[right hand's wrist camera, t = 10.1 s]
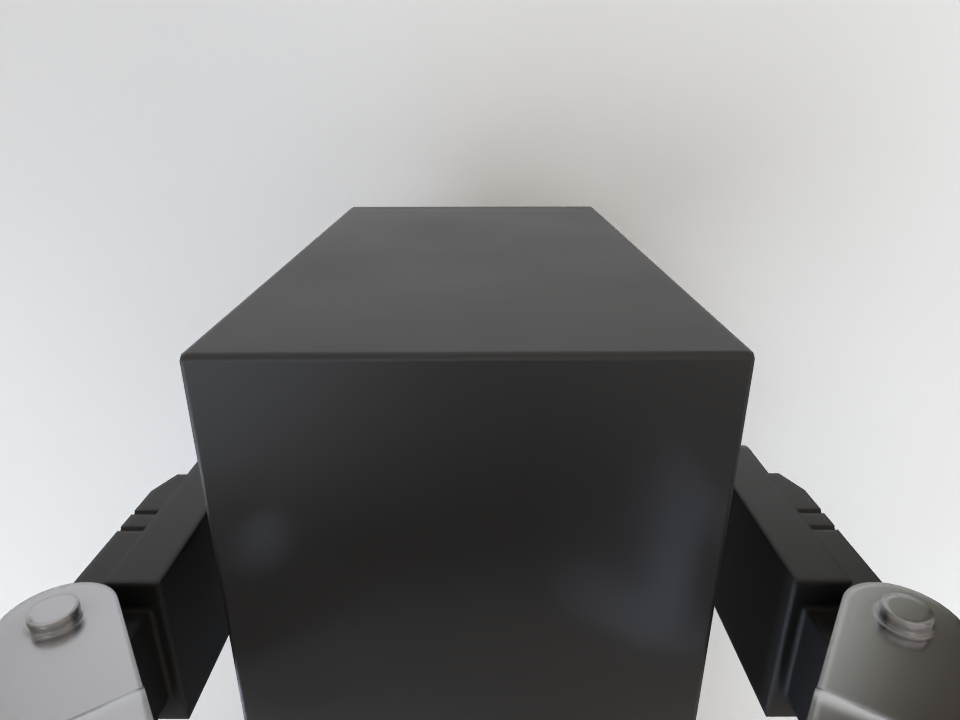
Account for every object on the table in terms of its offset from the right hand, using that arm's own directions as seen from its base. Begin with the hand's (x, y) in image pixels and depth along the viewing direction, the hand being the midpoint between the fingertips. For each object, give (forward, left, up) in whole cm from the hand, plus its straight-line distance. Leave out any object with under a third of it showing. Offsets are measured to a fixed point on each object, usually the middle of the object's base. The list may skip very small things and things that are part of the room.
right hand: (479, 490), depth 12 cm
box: (+9, +2, -7) cm, 12 cm away
